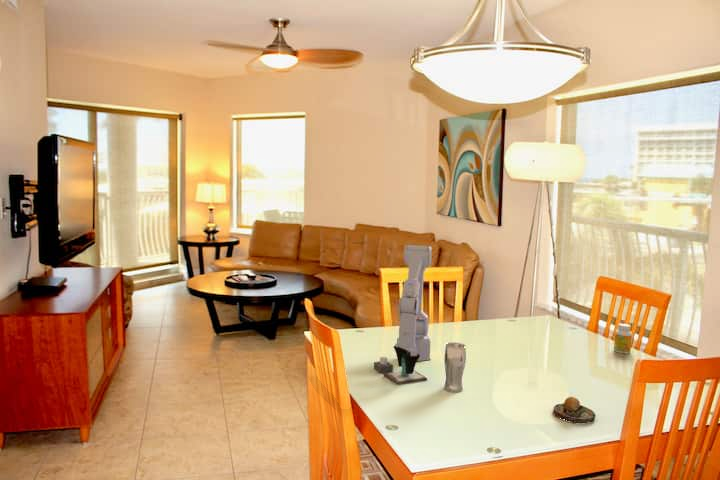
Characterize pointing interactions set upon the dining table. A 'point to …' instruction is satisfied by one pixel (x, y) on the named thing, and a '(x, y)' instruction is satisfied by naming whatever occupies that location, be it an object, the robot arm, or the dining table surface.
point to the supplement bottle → (623, 339)
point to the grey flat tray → (400, 379)
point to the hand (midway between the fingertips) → (405, 369)
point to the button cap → (383, 361)
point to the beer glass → (454, 366)
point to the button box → (383, 367)
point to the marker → (404, 368)
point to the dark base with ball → (574, 411)
